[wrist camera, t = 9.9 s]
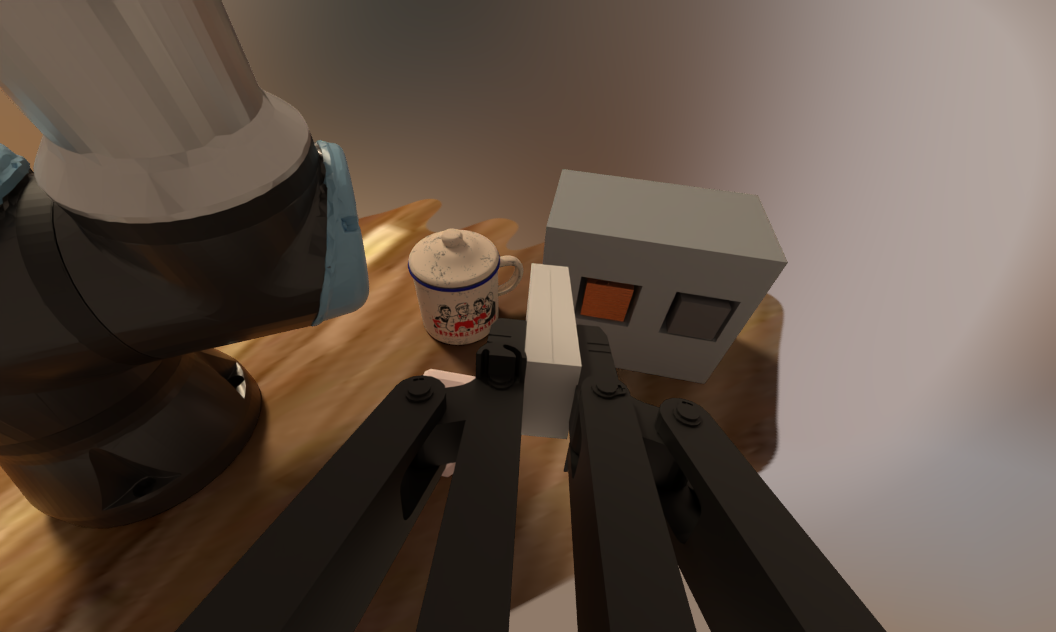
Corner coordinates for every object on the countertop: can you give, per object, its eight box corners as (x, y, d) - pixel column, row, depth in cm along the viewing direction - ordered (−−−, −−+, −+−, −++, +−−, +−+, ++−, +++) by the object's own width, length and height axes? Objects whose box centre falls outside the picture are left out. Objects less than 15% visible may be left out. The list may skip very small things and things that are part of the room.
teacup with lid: (431, 358, 40) (412, 273, 32) (413, 301, 46) (393, 216, 38) (535, 328, 44) (543, 245, 36) (507, 279, 50) (508, 196, 41)
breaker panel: (533, 355, 41) (545, 229, 30) (548, 291, 48) (562, 169, 37) (705, 387, 40) (789, 265, 28) (694, 315, 47) (757, 195, 35)
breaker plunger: (580, 314, 36) (587, 282, 33) (588, 251, 43) (595, 220, 40) (623, 321, 36) (633, 290, 33) (625, 256, 42) (633, 226, 40)
